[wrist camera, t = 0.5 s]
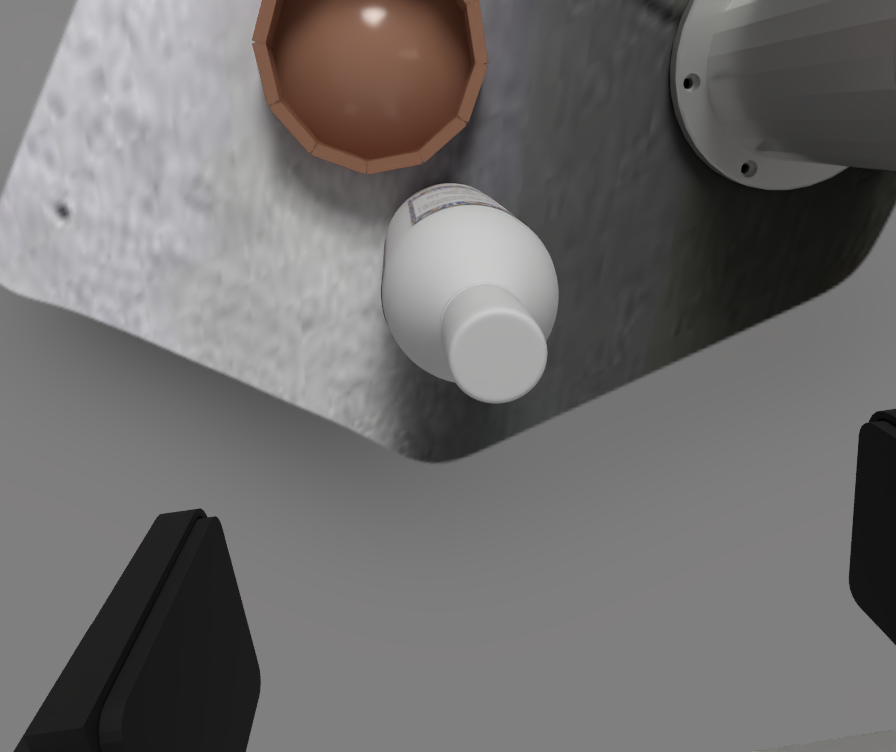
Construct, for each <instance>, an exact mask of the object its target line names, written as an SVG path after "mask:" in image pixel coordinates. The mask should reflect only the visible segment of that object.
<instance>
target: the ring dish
mask: <svg viewBox="0 0 896 752" xmlns="http://www.w3.org/2000/svg"><path fill="white" fill-rule="evenodd" d="M252 40H253V41H254V42H256V43H252V45H253V49H254V53H255V57H256V61H257V65H258V69H259V73H260V77H261V81H262V85H263V89H264V93H265V97H266V101H267V105H269V106H270V107H269V109H270V110H271V111H272V112H273V113H274V114H275V115H276V117H277V118H278V119H279V120H280V121H281V122H282V123H283V125H284V126H285V127H286V128H287V129H288V130H289V131H290V132H291V134H292V135H293V136H294V137H295V138H296V139H297V140H298V142H299V143H300V144H301V145H302V146H303V147H304V148H305V149H306V151H307V152H308V153H312V156H315V157H318V158H321V159H324V160H326V161H329V162H332V163H335V164H338V165H340V166H343V167H346V168H349V169H351V170H354V171H357V172H360V173H363V174H366V172H367V173H368V175H369V174H374V173H379V172H384V171H389V170H394V169H400V168H405V167H410V166H415V165H420V164H422V161H421V159H422V160H423V162H424V163H425V162H426V161H427V160H428V159H429V158H431V157H432V156H433V155H434V154H435V153H436V152H437V151H438V150H440V149H441V148H442V147H443V146H444V145H445V144H446V143H447V142H448V141H450V140H451V139H452V138H453V137H454V136H455V135H456V134H457V133H459V132H460V131H461V130H462V129H463V128H464V127H465V126H466V124H465V123H468V122H469V119H470V116H471V114H472V111H473V108H474V105H475V102H476V99H477V96H478V93H479V90H480V87H481V85H482V82H483V79H484V76H485V73H486V70H487V67H488V66H487V65H485V64H487V63H488V58H487V51H486V44H485V38H484V31H483V24H482V18H481V11H480V4H479V0H262V3H261V7H260V11H259V15H258V18H257V22H256V26H255V30H254V34H253V38H252Z"/></svg>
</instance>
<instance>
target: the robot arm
mask: <svg viewBox="0 0 896 752" xmlns="http://www.w3.org/2000/svg"><path fill="white" fill-rule="evenodd" d="M686 78H687V79H688V80H689V82H690V84H689V87H688V88H687V89H685V88H684V85H683V83H684V79H686ZM670 88H671V97H672V102H673V106H674V111H675V116H676V118H677V121H678V123H679V125H680V128H681V130H682V133H683V135H684V137H685V139H686V140H687V142H688V143H689V145H690V146H691V147H692V149H693V150H694V152H695V153H696V155H697V156H698V157H699V158H700V159H701V160H702V161H704V162H705V163H706V164H707V165H708V166H709V167H710V168H711V169H712V170H713V171H715V172H717V173H719V174H720V175H722V176H724V177H725V178H727V179H729V180H730V181H733V182H736V183H739V184H742V185H745V186H748V187H753V188H760V189H765V190H792V189H797V188H802V187H807V186H812V185H814V184H817V183H819V182H822V181H824V180H827V179H829V178H832V177H834V176H835V175H837V174H839V173H840V172H842V171H843V170H845V169H847V168H848V167H859V168H869V169H880V170H891V171H896V0H690V2H689V4H688V6H687V7H686V9H685V11H684V13H683V15H682V17H681V21H680V24H679V27H678V30H677V33H676V36H675V39H674V43H673V50H672V57H671V64H670ZM743 164H745V166H746V168H745V171H744V172H741V168H742V165H743ZM853 514H854V515H853V527H852V542H851V556H850V570H849V584H850V590H851V593H852V595H853V598H854V599H855V601H856V603H857V604H858V605H859V607H860V608H861V609H862V610H863V611H864V612H865V613H866V614H867V615H868V616H869V617H870V618H871V619H872V620H873V621H874V623H875V624H876V625H877V626H878V627H879V628H880V629H881V630H882V631H883V632H884V633H885V634H886V635H887V636H888V637H889V638H890V639H891V641H892V642H893V643H894V644H895V645H896V409H892V410H885V411H878V412H876V413H874V414H873V415H872V417H871V418H870V420H869V423H865V424H864V425H863V426H862V427H861V429H860V433H859V443H858V456H857V471H856V485H855V499H854V513H853ZM260 684H261V681H260V670H259V665H258V661H257V657H256V653H255V649H254V646H253V642H252V638H251V635H250V631H249V627H248V623H247V619H246V615H245V612H244V608H243V604H242V600H241V597H240V593H239V589H238V586H237V582H236V578H235V574H234V570H233V567H232V563H231V559H230V555H229V552H228V548H227V544H226V540H225V536H224V533H223V529H222V525H221V523H220V521H219V519H218V518H217V517H208V518H207V515H206V514H205V512H204V511H203V510H202V509H194V510H187V511H180V512H173V513H166V514H160V515H159V516H158V517H157V518H156V520H155V521H154V523H153V525H152V526H151V528H150V530H149V531H148V533H147V535H146V536H145V538H144V540H143V541H142V543H141V544H140V546H139V548H138V549H137V551H136V553H135V554H134V556H133V558H132V559H131V561H130V562H129V564H128V566H127V567H126V569H125V571H124V572H123V574H122V576H121V577H120V579H119V581H118V582H117V584H116V585H115V587H114V589H113V591H112V592H111V594H110V595H109V597H108V599H107V600H106V602H105V604H104V605H103V607H102V608H101V610H100V612H99V613H98V615H97V617H96V618H95V620H94V621H93V623H92V624H91V626H90V627H89V629H88V631H87V632H86V634H85V635H84V637H83V639H82V640H81V642H80V644H79V645H78V647H77V648H76V650H75V652H74V654H73V655H72V657H71V658H70V660H69V662H68V663H67V665H66V667H65V668H64V670H63V671H62V673H61V675H60V676H59V678H58V680H57V681H56V683H55V685H54V686H53V688H52V689H51V691H50V693H49V694H48V696H47V698H46V699H45V701H44V703H43V704H42V706H41V707H40V709H39V711H38V712H37V714H36V716H35V717H34V719H33V721H32V722H31V724H30V725H29V727H28V729H27V730H26V732H25V734H24V735H23V737H22V739H21V741H20V742H19V744H18V745H17V747H16V749H15V750H14V752H246V748H247V744H248V740H249V736H250V732H251V727H252V723H253V719H254V715H255V711H256V707H257V703H258V699H259V694H260ZM751 752H896V730H889V731H883V732H876V733H870V734H863V735H857V736H851V737H843V738H837V739H830V740H824V741H817V742H811V743H805V744H798V745H791V746H784V747H778V748H771V749H765V750H758V751H751Z"/></svg>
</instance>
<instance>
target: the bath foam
mask: <svg viewBox="0 0 896 752" xmlns="http://www.w3.org/2000/svg"><path fill="white" fill-rule="evenodd" d="M558 297H559V295H558V282H557V276H556V272H555V268H554V265H553V262H552V260H551V257H550V255H549V253H548V251H547V249H546V247H545V245H544V244H543V242H542V241H541V239H540V238H539V237H538V236H537V234H536V233H535V232H534V231H533V230H532V229H531V228H529V227H528V226H527V225H526V224H525V223H524V222H522V221H521V220H520V219H518V218H517V217H516V216H514V215H513V214H512V213H510V212H509V211H508V210H506V209H505V208H504V207H502V206H501V205H500V204H498V203H497V202H496V201H494V200H493V199H492V198H490V197H489V196H487V195H486V194H484V193H482V192H481V191H479V190H477V189H475V188H473V187H470V186H467V185H463V184H456V183H443V184H437V185H433V186H429V187H427V188H424V189H422V190H420V191H418V192H416V193H415V194H413V195H412V196H410V197H409V198H408V199H407V200H406V201H405V202H404V203H403V204H402V205H401V206H400V207H399V208H398V210H397V211H396V213H395V214H394V216H393V218H392V220H391V222H390V224H389V227H388V230H387V233H386V238H385V245H384V257H383V271H382V285H381V300H382V308H383V312H384V316H385V319H386V322H387V325H388V327H389V329H390V331H391V333H392V335H393V337H394V339H395V341H396V342H397V344H398V345H399V347H400V348H401V349H402V351H403V352H404V353H405V354H406V355H407V356H408V357H409V358H410V359H411V360H412V361H413V362H414V363H415V364H416V365H418V366H419V367H420V368H422V369H423V370H425V371H427V372H428V373H430V374H432V375H434V376H436V377H438V378H441V379H444V380H447V381H451V382H455V383H456V384H457V385H458V387H459V388H460V389H461V390H462V391H463V392H465V393H466V394H467V395H469V396H470V397H472V398H474V399H476V400H479V401H482V402H486V403H506V402H510V401H513V400H516V399H518V398H520V397H522V396H523V395H525V394H526V393H528V392H529V391H530V390H531V389H532V388H533V387H534V386H535V385H536V384H537V382H538V381H539V380H540V378H541V376H542V374H543V372H544V369H545V366H546V362H547V345H546V341H547V339H548V337H549V335H550V333H551V331H552V328H553V325H554V322H555V319H556V314H557V309H558Z"/></svg>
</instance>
